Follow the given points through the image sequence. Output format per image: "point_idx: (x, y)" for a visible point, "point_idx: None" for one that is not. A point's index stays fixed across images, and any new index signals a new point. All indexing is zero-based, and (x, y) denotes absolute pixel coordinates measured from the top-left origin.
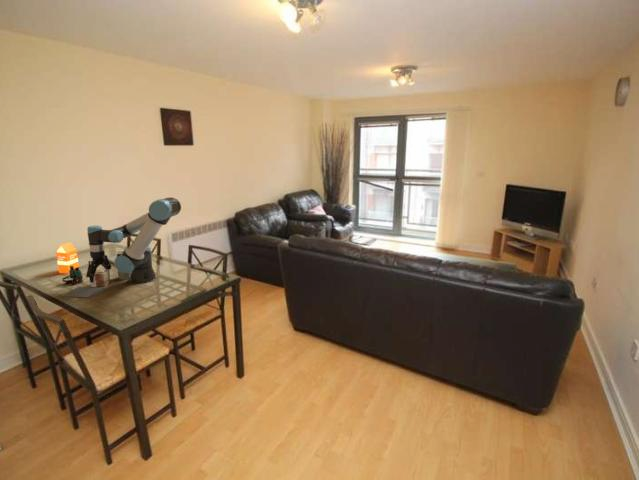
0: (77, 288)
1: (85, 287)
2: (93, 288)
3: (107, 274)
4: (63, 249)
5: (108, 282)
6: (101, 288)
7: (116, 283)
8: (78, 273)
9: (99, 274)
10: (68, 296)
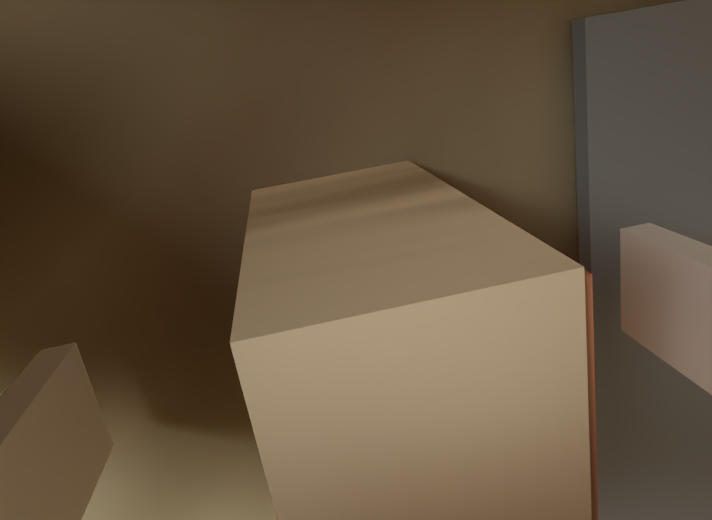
0: (686, 504)
1: (622, 428)
2: None
3: (247, 289)
4: None
5: (255, 197)
6: (629, 57)
7: (138, 10)
8: None
9: (593, 436)
10: None
